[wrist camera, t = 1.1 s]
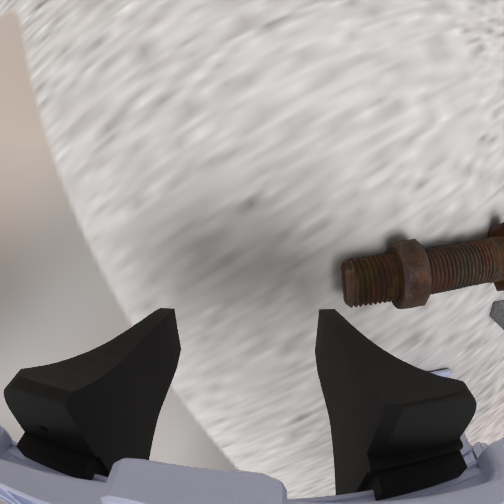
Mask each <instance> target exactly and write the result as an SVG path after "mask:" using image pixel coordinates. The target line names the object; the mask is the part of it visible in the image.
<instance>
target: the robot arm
mask: <svg viewBox="0 0 504 504" xmlns="http://www.w3.org/2000/svg"><path fill="white" fill-rule="evenodd" d="M180 351H181V347H180V341H179V335H178V329H177V323H176V317H175V310H174V309H168V308H160V309H158V310H156V311H155V312H153V313H152V314H150V315H149V316H147V317H146V318H144V319H143V320H142V321H140V322H139V323H137V324H136V325H134V326H133V327H131V328H130V329H128V330H127V331H125V332H124V333H122V334H120V335H119V336H117V337H116V338H114V339H112V340H111V341H109V342H107V343H105V344H103V345H101V346H99V347H97V348H95V349H93V350H91V351H89V352H86V353H84V354H81V355H78V356H76V357H73V358H70V359H67V360H64V361H61V362H57V363H53V364H49V365H44V366H38V367H32V368H25V369H21V370H20V371H19V372H18V373H17V374H16V376H15V377H14V378H13V379H12V381H11V382H10V383H9V384H8V385H7V387H6V388H5V389H4V397H5V400H6V403H7V405H8V407H9V409H10V410H11V412H12V413H13V415H14V416H15V418H16V420H17V421H18V423H19V424H20V425H21V427H22V428H23V430H24V431H25V433H24V435H23V436H22V438H21V440H20V441H19V442H18V443H17V442H15V441H13V440H12V438H11V437H10V435H9V434H8V433H7V431H6V430H5V429H4V428H3V427H2V426H1V425H0V499H1V500H2V501H4V502H5V503H7V504H504V438H502V439H500V440H498V441H496V442H493V443H492V444H490V445H487V444H486V443H480V442H477V443H476V444H474V445H473V447H472V445H471V444H470V443H469V442H468V440H467V438H466V436H465V434H464V431H465V429H466V428H467V426H468V425H469V423H470V421H471V420H472V418H473V416H474V413H475V411H476V405H477V404H476V401H475V398H474V397H473V395H472V394H471V392H470V391H469V389H468V387H467V386H466V384H465V383H464V382H463V381H459V380H455V379H451V378H450V376H451V373H452V372H451V370H450V369H445V370H440V371H434V372H427V371H424V370H422V369H419V368H417V367H414V366H412V365H410V364H408V363H406V362H404V361H402V360H400V359H398V358H396V357H394V356H393V355H391V354H389V353H388V352H386V351H384V350H383V349H381V348H380V347H378V346H377V345H376V344H374V343H373V342H372V341H370V340H369V339H368V338H366V337H365V336H364V335H363V334H361V333H360V332H359V331H358V330H357V329H356V328H354V327H353V326H352V325H351V324H350V323H349V322H348V321H347V320H346V319H345V318H344V317H343V316H341V315H340V314H339V313H338V312H337V311H336V310H335V309H321V310H319V318H318V328H317V338H316V347H315V354H316V363H317V371H318V375H319V379H320V383H321V387H322V391H323V394H324V398H325V402H326V406H327V410H328V414H329V419H330V425H331V434H332V443H333V454H334V467H335V485H336V495H334V496H325V497H314V498H300V499H287V490H286V488H285V487H284V485H283V483H282V482H281V481H279V480H277V479H275V478H272V477H270V476H268V475H265V474H263V473H255V472H248V471H239V470H221V469H208V468H198V467H189V466H182V465H175V464H167V463H162V462H155V461H150V460H149V456H150V450H151V446H152V441H153V436H154V431H155V427H156V423H157V419H158V416H159V413H160V410H161V407H162V405H163V402H164V399H165V397H166V394H167V392H168V389H169V387H170V384H171V382H172V379H173V377H174V374H175V371H176V368H177V364H178V360H179V356H180Z"/></svg>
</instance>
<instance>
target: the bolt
mask: <svg viewBox="0 0 504 504" xmlns="http://www.w3.org/2000/svg"><path fill="white" fill-rule="evenodd" d="M341 270H342V286H343V294H344V301H345V303H346V304H347V305H348V306H350V307H351V308H352V307H353V305H354V306H355V307H357V306H358V305H359V306H360V307H361V306H362V305H363V304H364V305H365V306H366V305H367V304H368V303H369V304H370V305H372V303H374V304H377V302H378V303H380V304H381V302H382V301H383V302H384V303H385V302H387V301H388V302H390V301H392V303H393V305H394V306H395V307H396V308H397V309H405V308H413V307H418V306H423V305H425V304H426V302H427V300H428V298H429V296H430V294H435V293H439V292H440V293H441V292H445V291H450V290H454V289H455V290H456V289H460V288H462V287H468V286H472V285H479V284H482V283H487V282H489V283H492V282H494V285H495V287H496V289H497V291H502V290H504V222H503V223H501V224H499V225H497V226H495V227H493V228H491V229H489V232H488V238H484V239H483V240H479V241H472V242H466V243H459V244H452V245H444V246H440V247H439V246H438V247H432V248H428V249H427V248H425V249H424V248H423V246H422V245H421V244H420V243H419V242H418V241H417V240H416V239H410V240H403V241H399V242H396V243H393V244H392V245H390V246H389V247H388V249H387V252H386V254H385V255H382V254H381V255H380V256H379V255H376V256H371V257H369V256H368V257H366V258H364V257H362V258H361V259H360V258H357V259H356V260H355V259H354V258H353V259H352V260H350V259H347V261H346V262H343V264H342V265H341Z"/></svg>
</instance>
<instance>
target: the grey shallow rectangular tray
mask: <svg viewBox="0 0 504 504" xmlns="http://www.w3.org/2000/svg"><path fill="white" fill-rule="evenodd" d="M490 317H491V318H492V319H493V320H494V321H495V322H496V323H497V324H498V325H499V326H500V327H501V328H502V329H503V330H504V301H497V302H494V304H493V307H492V310H491V313H490Z"/></svg>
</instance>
